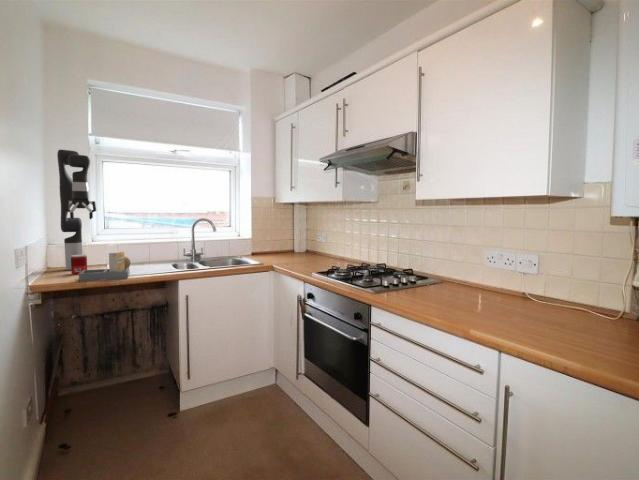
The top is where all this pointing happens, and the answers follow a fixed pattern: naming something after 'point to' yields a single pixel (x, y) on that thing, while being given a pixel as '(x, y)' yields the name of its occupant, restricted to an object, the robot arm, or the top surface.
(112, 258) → the supplement box
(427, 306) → the top surface
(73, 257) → the canned food
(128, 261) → the natural sponge
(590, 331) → the top surface
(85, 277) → the organiser tray
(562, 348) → the top surface
